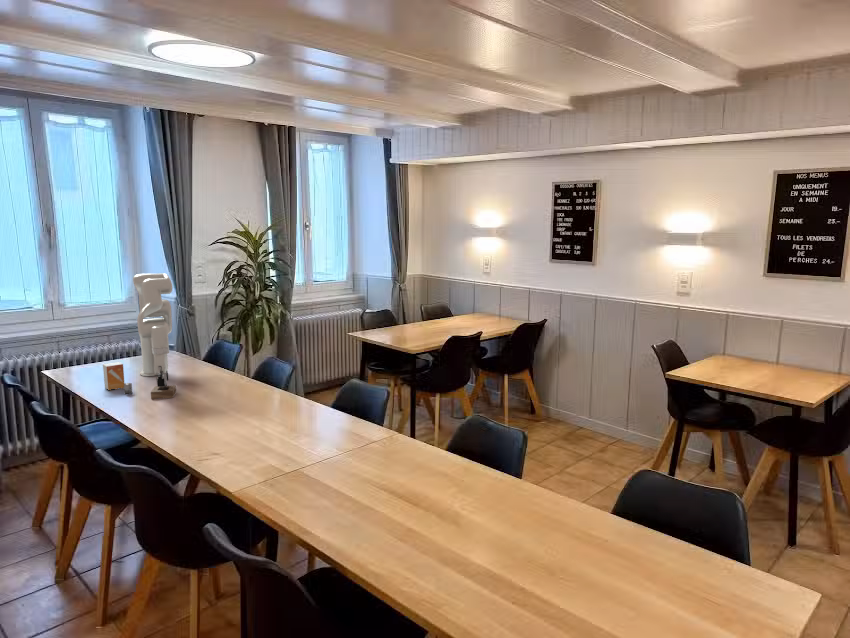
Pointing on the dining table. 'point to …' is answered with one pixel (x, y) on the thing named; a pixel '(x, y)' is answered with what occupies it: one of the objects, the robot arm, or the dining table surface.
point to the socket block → (163, 392)
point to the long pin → (165, 383)
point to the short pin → (128, 388)
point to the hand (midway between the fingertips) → (163, 383)
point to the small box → (113, 375)
